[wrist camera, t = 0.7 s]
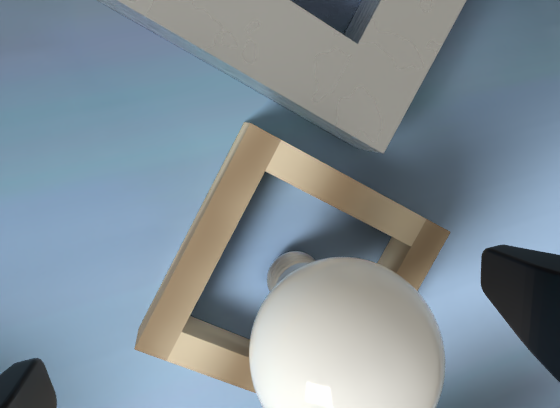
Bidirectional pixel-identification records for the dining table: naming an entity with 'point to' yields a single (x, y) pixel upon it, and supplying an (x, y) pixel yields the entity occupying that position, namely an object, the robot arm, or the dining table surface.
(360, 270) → the lightbulb
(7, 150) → the dining table surface
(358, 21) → the socket
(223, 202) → the wooden picture frame
